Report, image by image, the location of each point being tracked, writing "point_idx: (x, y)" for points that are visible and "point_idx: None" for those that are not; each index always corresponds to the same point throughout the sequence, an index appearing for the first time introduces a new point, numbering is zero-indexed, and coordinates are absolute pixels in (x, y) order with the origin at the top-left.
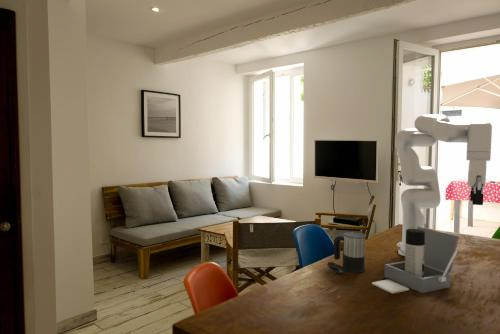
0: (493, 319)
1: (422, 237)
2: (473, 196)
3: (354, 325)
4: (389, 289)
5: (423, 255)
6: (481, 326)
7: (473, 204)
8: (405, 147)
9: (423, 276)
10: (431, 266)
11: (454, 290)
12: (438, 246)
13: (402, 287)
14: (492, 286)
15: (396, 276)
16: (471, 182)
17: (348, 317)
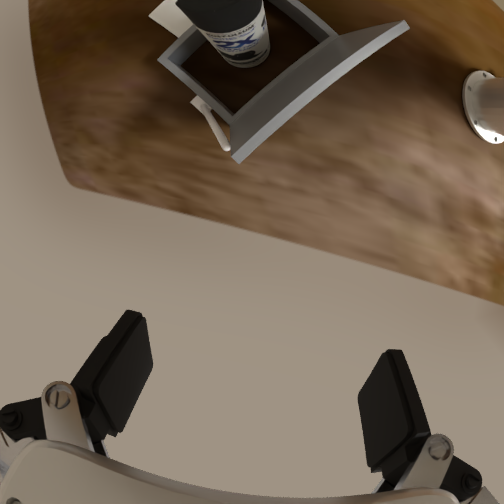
0: (97, 190)
1: (186, 14)
2: (93, 362)
3: (36, 24)
4: (161, 8)
5: (215, 42)
6: (68, 168)
7: (130, 312)
8: None
9: (233, 62)
10: (278, 82)
11: None
12: (285, 90)
13: (182, 27)
14: (283, 234)
15: None
16: (5, 477)
17: (52, 7)
